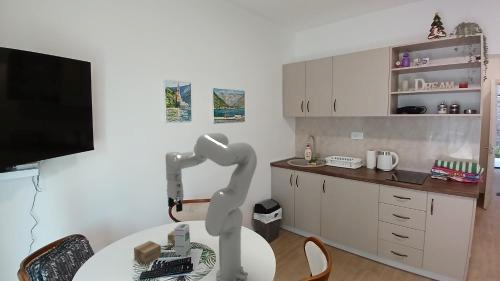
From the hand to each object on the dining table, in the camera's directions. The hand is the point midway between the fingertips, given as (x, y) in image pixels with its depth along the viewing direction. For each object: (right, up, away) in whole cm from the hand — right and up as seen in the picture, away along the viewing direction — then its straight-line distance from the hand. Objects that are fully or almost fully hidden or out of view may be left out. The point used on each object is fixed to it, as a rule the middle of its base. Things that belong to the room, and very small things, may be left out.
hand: (175, 208), depth 135 cm
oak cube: (-4, -22, +13) cm, 26 cm away
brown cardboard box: (-13, -24, -4) cm, 27 cm away
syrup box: (+4, -23, +1) cm, 24 cm away
